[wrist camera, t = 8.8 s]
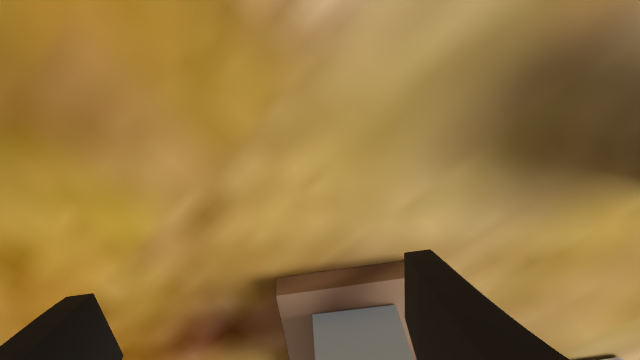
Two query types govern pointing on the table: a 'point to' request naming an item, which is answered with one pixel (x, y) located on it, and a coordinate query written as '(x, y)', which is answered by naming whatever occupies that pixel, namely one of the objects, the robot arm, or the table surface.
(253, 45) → the table surface
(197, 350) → the table surface
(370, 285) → the slab
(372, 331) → the block
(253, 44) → the table surface
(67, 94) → the table surface
